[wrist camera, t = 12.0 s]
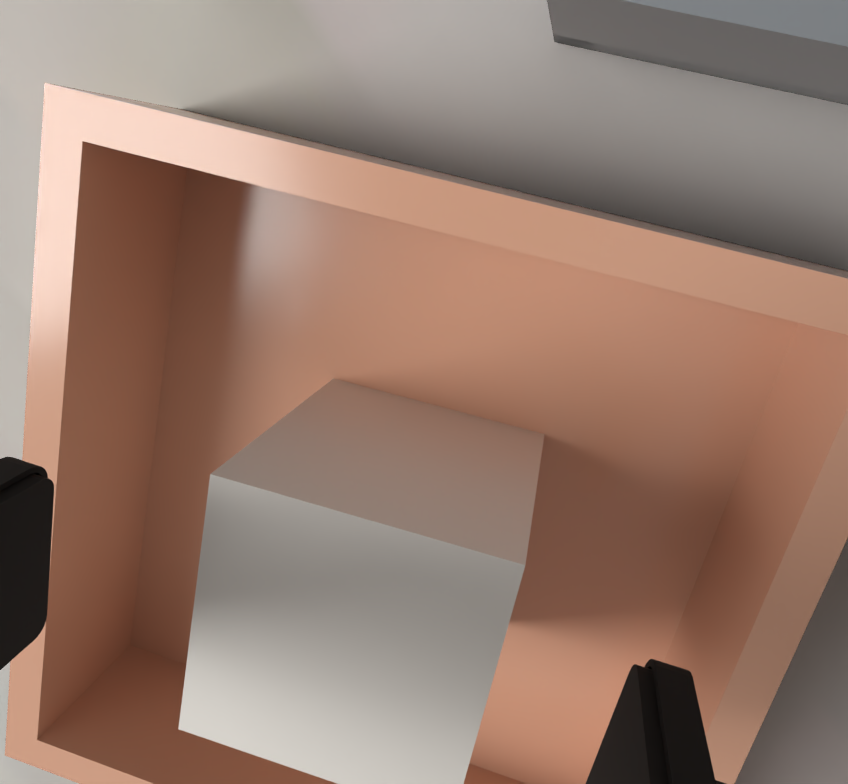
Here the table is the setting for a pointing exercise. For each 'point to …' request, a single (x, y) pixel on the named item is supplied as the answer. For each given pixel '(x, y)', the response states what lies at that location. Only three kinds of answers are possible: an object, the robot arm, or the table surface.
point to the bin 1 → (427, 382)
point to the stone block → (360, 586)
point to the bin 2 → (721, 38)
